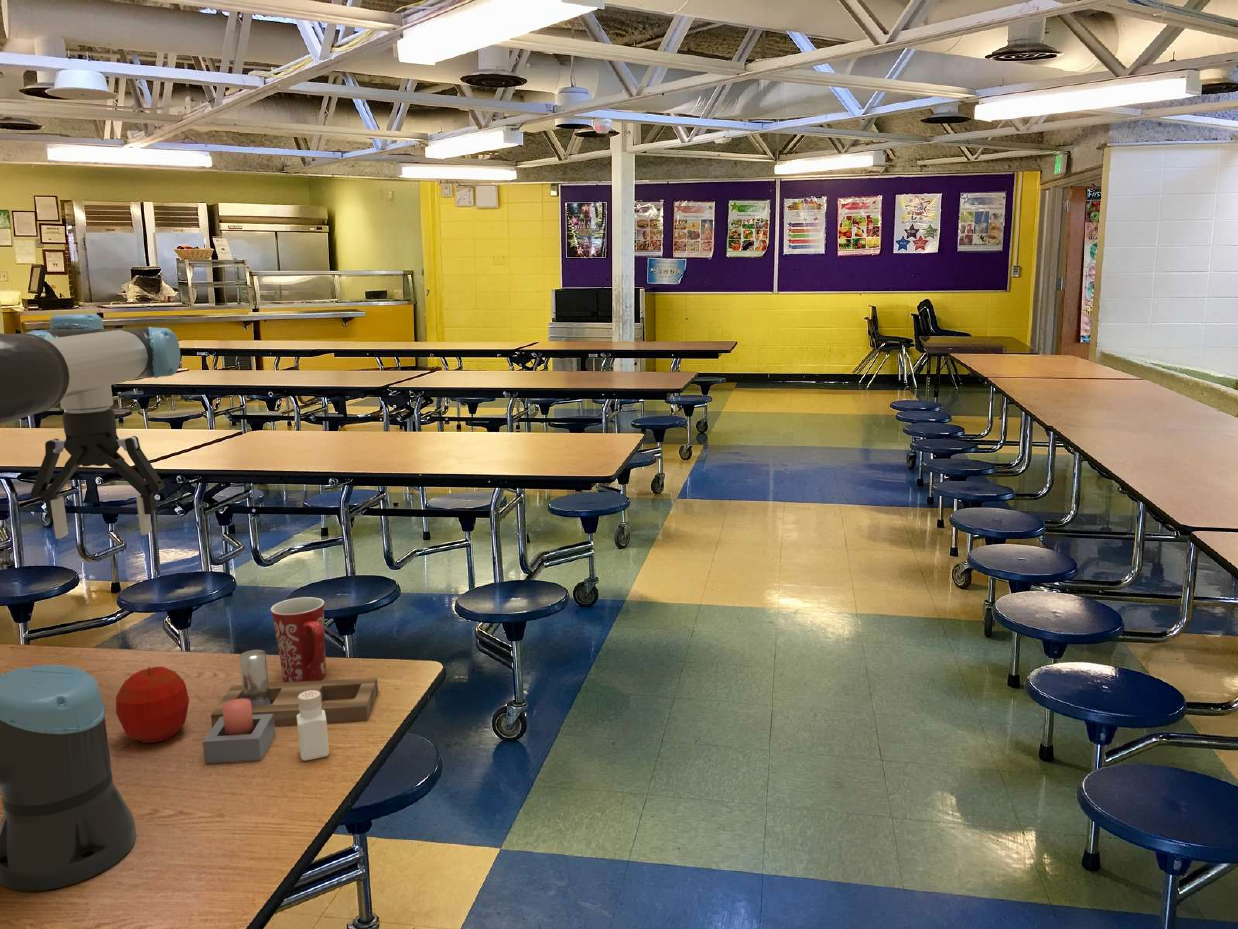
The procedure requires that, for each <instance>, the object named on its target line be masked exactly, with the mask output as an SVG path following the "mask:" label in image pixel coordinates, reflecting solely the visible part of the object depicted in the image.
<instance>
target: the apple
mask: <svg viewBox="0 0 1238 929" xmlns="http://www.w3.org/2000/svg"><path fill="white" fill-rule="evenodd" d="M187 690H188V689H187V686H186V682H185V681H184V679H183V678H182V677H181V676H180V675H179V674H178V673H177V672H176V671H175V670H172V669H169V668H167V667H164V666H154V667H151V666H148V668H144V669H141V670H139V671H136V672H135V673H133V674H131V676H130V677H128V678H127V679H126V680H124V682H123V684H122V685H121V687H120V689H119V690H118V692H117V694H116V696H115V714H116V716H117V718H118V721H119V723H120V725H121V726H122V728H123V732H124V733H125V736H128V737H131V738H133V739H136V740H138V741H141V742H142V743H147V744H148V743H149V744H150V743H157V742H158V743H159V742H161V741H166V740H168V739H170V738H172V737H173V736H174V735H175V734H176V733H177V732H178V731H179V730H180V729H181V728H182V727H183V726H184V725H185V724H186V720H187V718H188V716H187V715H188V710H189V703H190V698H189V694H188V691H187Z"/></svg>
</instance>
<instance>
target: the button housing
mask: <svg viewBox="0 0 1238 929" xmlns="http://www.w3.org/2000/svg"><path fill="white" fill-rule="evenodd" d="M252 718H253V727H254V731H253V732H252V734H246V735H229V736H225V728H224V719H223V717H220V718H219V719H218V721H217V722H216V723H215V725H214V726H213V728H212V727H211V729H210V730H209V732H208V733H207V735H206V736H205V737H204V739H203V740H202V747H203V750H202V751H203V758H204V764H205V765H206V764H221V763H222V764H223V763H238V762H239V763H240V762H255V761H262V759H263V758H264V756H265V754H266V753H267V750H268V749H269V747H270V746H271V744H272V742H273V740H274V738H275V736H276V726H275V724H274V714H260V715H252Z"/></svg>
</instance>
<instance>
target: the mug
mask: <svg viewBox="0 0 1238 929" xmlns="http://www.w3.org/2000/svg"><path fill="white" fill-rule="evenodd" d="M324 607H325V600H324V599H322V598H319V597H312V596H309V597H308V596H303V597H295V598H290V599H289V598H288V599H285V600H282V601H279V602H276V603H275V604H273V605H272V606H271V607H270V612H271V615H272V620H273V625H274V631H275V637H276V642H277V650H278V654H279V659H280V660H279V661H280V667H281V674H282V680H283V683H284V682H302V681H321V680H322V679H323V678H325V677H326V675H327V674H326V673H327V665H326V664H327V662H326V639H325V637H326V636H325V612H324V611H325V610H324V609H325V608H324Z"/></svg>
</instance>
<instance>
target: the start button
mask: <svg viewBox="0 0 1238 929" xmlns="http://www.w3.org/2000/svg"><path fill="white" fill-rule="evenodd" d="M222 710H223V719H224V728H225V736H229V735H246V734H252V732H253V731H254V727H253V718H252V708H251V701H250V700H248V699H234V700H231V701H228V702H226V703H225V704H223V706H222Z"/></svg>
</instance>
